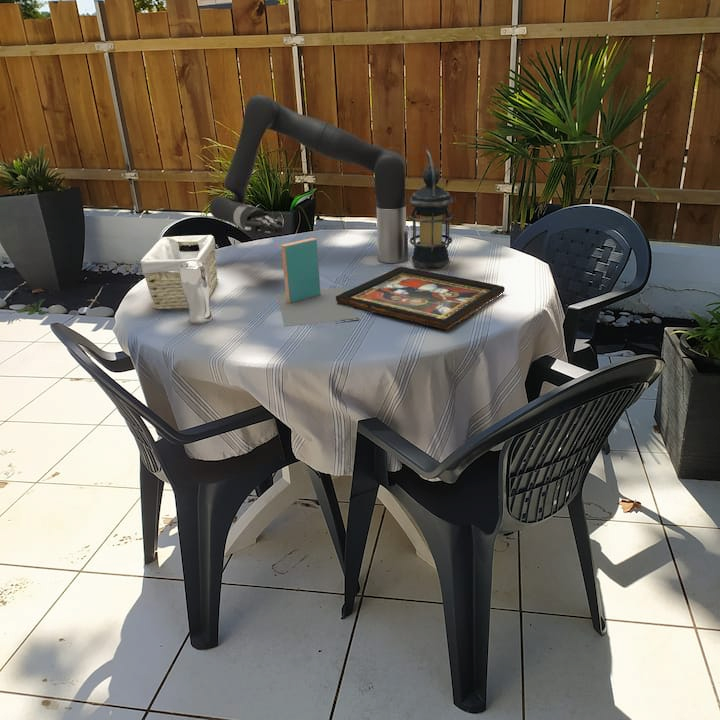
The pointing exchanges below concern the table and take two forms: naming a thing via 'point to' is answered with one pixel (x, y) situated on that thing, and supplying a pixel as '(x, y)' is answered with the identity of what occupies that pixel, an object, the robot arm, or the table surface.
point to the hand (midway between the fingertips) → (279, 230)
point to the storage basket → (176, 268)
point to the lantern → (430, 220)
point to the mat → (316, 309)
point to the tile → (301, 270)
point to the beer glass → (196, 290)
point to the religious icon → (421, 296)
